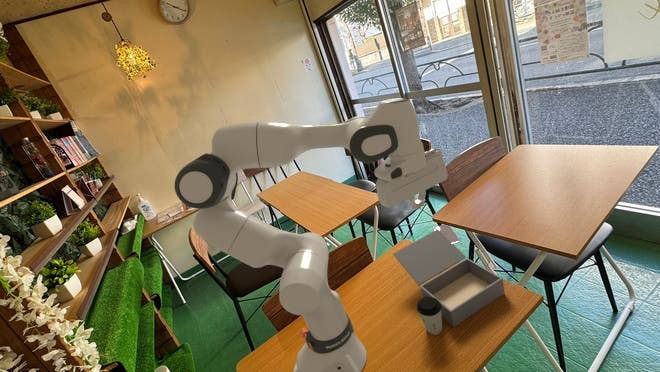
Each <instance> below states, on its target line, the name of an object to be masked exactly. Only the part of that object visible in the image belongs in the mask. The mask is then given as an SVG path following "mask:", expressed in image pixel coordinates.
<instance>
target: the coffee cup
mask: <svg viewBox="0 0 660 372" xmlns="http://www.w3.org/2000/svg"><path fill="white" fill-rule="evenodd" d="M416 310H417V312H418V314H419V317H421V320H422V322H423V323H422V324H423V325H424V327H425V329H426V331H427V332H428V334H430V335H434V336H435V335H439V334H441V333H442V332H443V317H442V315H441V303H440V302H439V301H438V300H437V299H436V298H433V297H424V298H423V297H421V298H420V299H419V300H418V302H417V303H416Z"/></svg>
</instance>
